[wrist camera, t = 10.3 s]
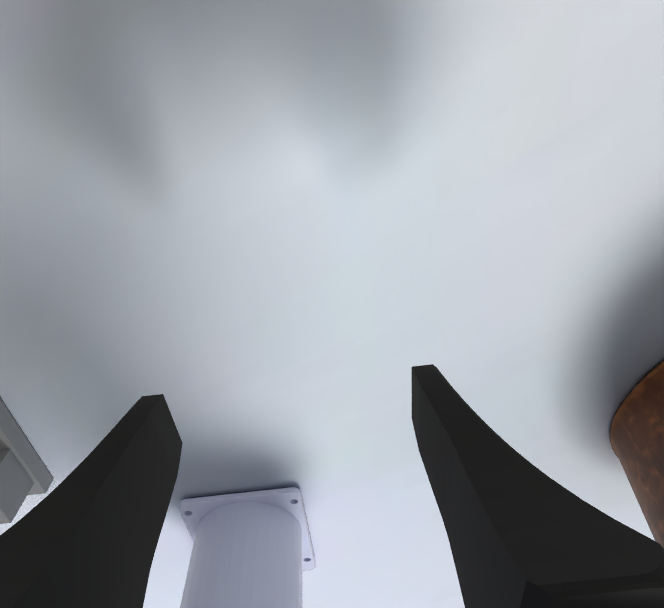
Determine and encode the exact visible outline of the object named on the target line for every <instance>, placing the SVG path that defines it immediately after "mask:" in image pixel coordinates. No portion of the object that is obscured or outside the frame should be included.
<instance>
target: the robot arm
mask: <svg viewBox="0 0 664 608" xmlns="http://www.w3.org/2000/svg"><path fill="white" fill-rule="evenodd" d="M412 421H413V425H414V430H415V435H416V439H417V443H418V448H419V452H420V455H421V458H422V461H423V464H424V466H425V469H426V472H427V475H428V478H429V481H430V484H431V487H432V490H433V493H434V496H435V498H436V501H437V504H438V507H439V510H440V513H441V516H442V519H443V522H444V525H445V528H446V532H447V535H448V538H449V542H450V546H451V550H452V554H453V559H454V563H455V567H456V571H457V575H458V579H459V583H460V588H461V592H462V596H463V601H464V605H465V608H664V548H663V547H662V546H661V544H659V543H657V542H656V541H654V540H652V539H650V538H648V537H646V536H644V535H643V534H641V533H639V532H637V531H635V530H633V529H631V528H630V527H628V526H626V525H624V524H622V523H620V522H618V521H617V520H615V519H613V518H611V517H610V516H608V515H606V514H605V513H603V512H601V511H600V510H598V509H596V508H595V507H593V506H591V505H590V504H588V503H587V502H585V501H583V500H582V499H580V498H579V497H577V496H576V495H574V494H573V493H571V492H570V491H569V490H567V489H566V488H564V487H563V486H561V485H560V484H558V483H557V482H555V481H554V480H552V479H551V478H550V477H548V476H547V475H546V474H544V473H543V472H542V471H540V470H539V469H538V468H536V467H535V466H534V465H532V464H531V463H530V462H529V461H527V460H526V459H525V458H524V457H523V456H521V455H520V454H519V453H518V452H516V451H515V450H514V449H513V448H512V447H511V446H510V445H508V444H507V443H506V442H505V441H504V440H503V439H502V438H501V437H500V436H499V435H497V434H496V433H495V432H494V431H493V430H492V429H491V428H490V427H489V426H488V425H487V424H486V423H485V422H484V421H483V420H482V419H481V418H480V417H479V416H478V415H477V414H476V413H475V412H474V411H473V410H472V409H471V407H470V406H469V405H468V404H467V403H466V402H465V401H464V400H463V399H462V398H461V397H460V395H459V394H458V393H457V392H456V391H455V390H454V389H453V387H452V386H451V385H450V384H449V383H448V381H447V380H446V379H445V378H444V376H443V375H442V374H441V373H440V371H439V370H438V369H437V367H435V366H434V365H424V366H415V367H412ZM181 449H182V441H181V438H180V436H179V433H178V431H177V428H176V426H175V423H174V421H173V418H172V416H171V413H170V411H169V408H168V406H167V403H166V401H165V398H164V395H163V394H160V395H151V396H142V397H141V398H140V399H139V400H138V401H137V402H136V404H135V405H134V406H133V407H132V408H131V409H130V410H129V411H128V412H127V414H126V415H125V416H124V417H123V418H122V419H121V420H120V421H119V423H118V424H117V425H116V426H115V427H114V428H113V429H112V430H111V432H110V433H109V434H108V435H107V436H106V437H105V438H104V439H103V440H102V441H101V442H100V444H99V445H98V446H97V447H96V448H95V449H94V450H93V451H92V452H91V453H90V454H89V455H88V456H87V457H86V458H85V459H84V460H83V461H82V462H81V463H80V464H79V466H78V467H77V468H76V469H75V470H74V471H73V472H72V473H71V474H70V475H69V476H68V477H67V478H66V479H65V480H64V481H63V482H62V483H61V484H60V485H59V486H58V487H56V488H55V489H54V490H53V491H52V492H51V493H50V494H49V495H48V496H47V497H46V498H45V499H43V500H42V501H41V502H40V503H39V504H38V505H37V506H36V507H34V508H33V509H32V510H31V511H30V512H29V513H28V514H26V515H25V516H24V517H23V518H22V519H20V520H19V521H18V522H17V523H16V524H14V525H13V526H12V527H11V528H9V529H8V530H7V531H5V532H4V533H3V534H2V535H0V608H143V603H144V598H145V593H146V588H147V583H148V578H149V572H150V568H151V564H152V560H153V557H154V553H155V549H156V546H157V543H158V539H159V536H160V533H161V529H162V526H163V523H164V519H165V516H166V513H167V509H168V506H169V503H170V499H171V496H172V492H173V489H174V486H175V482H176V478H177V474H178V468H179V462H180V456H181ZM178 508H179V511H180V513H181V515H182V517H183V519H184V522H185V524H186V526H187V528H188V530H189V533H190V535H191V537H192V539H193V541H194V544H193V549H192V554H191V558H190V563H189V568H188V573H187V577H186V582H185V587H184V592H183V596H182V601H181V606H180V608H302V571H308V570H312V569H314V568H315V566H316V565H315V557H314V553H313V548H312V543H311V538H310V534H309V529H308V524H307V520H306V515H305V510H304V505H303V501H302V496H301V491H300V490H299V489H298V488H295V487H290V488H281V489H272V490H263V491H254V492H245V493H235V494H226V495H217V496H208V497H199V498H190V499H183V500H181V501H180V503H179V507H178Z"/></svg>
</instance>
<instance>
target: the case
mask: <svg viewBox="0 0 664 608" xmlns="http://www.w3.org/2000/svg"><path fill="white" fill-rule="evenodd" d="M610 439H611V445H612V448H613V450H614V452H615V454H616V455H617V457H618V458H619V459H620V462H621V464H622V466H623V468H624V471H625V473H626V475H627V478H628V480H629V482H630V485H631V487H632V489H633V491H634V494H635V496H636V498H637V501H638V503H639V505H640V507H641V510H642V512H643V514H644V516H645V519H646V521H647V523H648V525H649V528H650V530H651V532H652V534H653V537H654V539H655V541H656V542H657V543H659V544H661V546H662V547H663V548H664V361H662V362H661V363H660V364H658V365H657V366H656V367H655V368H654V369H653V370H651V371H650V372H649V373H648V374H647V375H646V376H645V377H644V378H643V379H642V380H641V381H640V382H639V383H638V384H637V385H636V386H635V387H634V389H633V390H632V391H631V392H630V394H629V395H628V396H627V397H626V398H625V400H624V401H623V403H622V404H621V406H620V407H619V409H618V411H617V412H616V414H615V416H614V419H613V422H612V426H611V431H610Z"/></svg>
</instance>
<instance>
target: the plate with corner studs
mask: <svg viewBox="0 0 664 608" xmlns="http://www.w3.org/2000/svg"><path fill="white" fill-rule="evenodd" d="M52 481H53V477H52V476H51V474H50V473H49V471H48V470H47V468H46V467H45V465H44V464H43V462H42V461H41V459H40V458H39V456H38V454H37V453H36V451H35V450H34V448H33V447H32V445H31V444H30V442H29V441H28V439H27V438H26V436H25V435H24V433H23V432H22V430H21V429H20V427H19V426H18V424H17V423H16V421H15V420H14V418H13V417H12V415H11V414H10V412H9V410H8V409H7V407H6V406H5V404H4V403H3V401H2V400H1V398H0V524H3V523H11V522H12V520H13V519H14V517H15V515H16V513H17V512H18V510H19V508H20V507H21V505H22V503H23V502H24V500H25V498H26V496H27V495H33V494H42V493H46V492H47V490H48V488H49V486H50V485H51V483H52Z"/></svg>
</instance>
